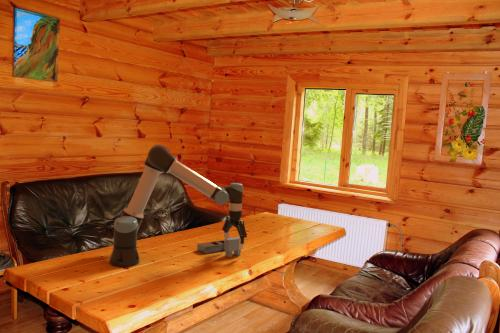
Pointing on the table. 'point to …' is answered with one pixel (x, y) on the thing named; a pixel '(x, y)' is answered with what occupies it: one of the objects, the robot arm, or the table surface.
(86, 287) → the table surface
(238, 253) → the upright grey box
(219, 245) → the block with rectangular hole
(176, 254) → the table surface
